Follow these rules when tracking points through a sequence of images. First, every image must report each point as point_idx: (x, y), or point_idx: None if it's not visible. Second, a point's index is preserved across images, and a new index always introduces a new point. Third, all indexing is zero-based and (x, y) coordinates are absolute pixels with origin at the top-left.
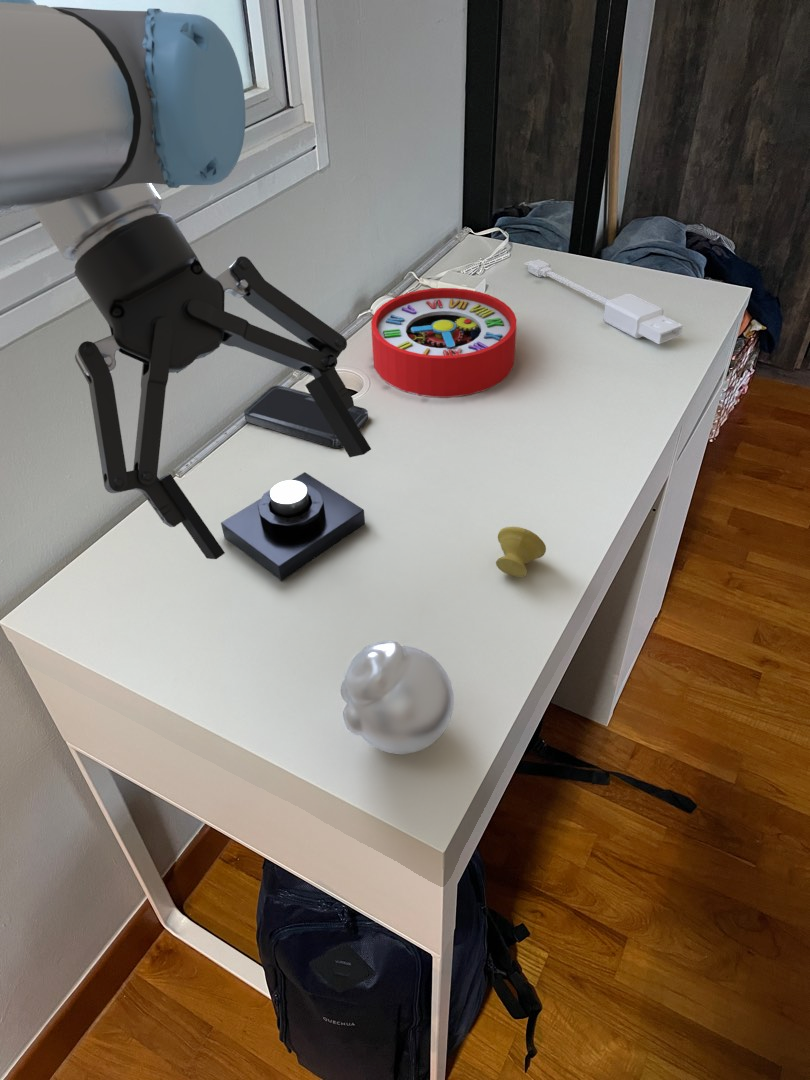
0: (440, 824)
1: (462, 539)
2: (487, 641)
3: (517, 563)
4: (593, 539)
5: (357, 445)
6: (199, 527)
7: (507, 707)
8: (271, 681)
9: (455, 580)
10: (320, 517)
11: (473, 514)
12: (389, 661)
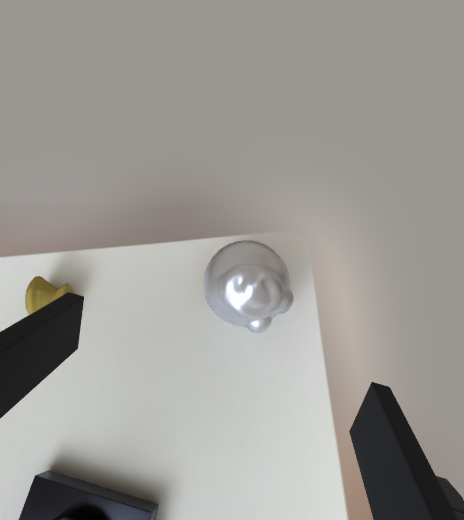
0: (295, 236)
1: None
2: (144, 284)
3: (65, 287)
4: (10, 265)
5: (72, 308)
6: (404, 430)
7: (193, 244)
8: (268, 421)
9: (92, 340)
10: (66, 514)
11: None
12: (250, 269)
